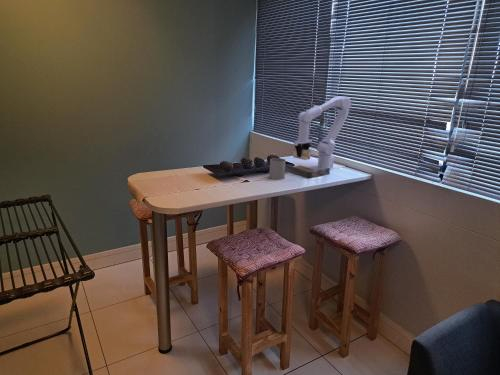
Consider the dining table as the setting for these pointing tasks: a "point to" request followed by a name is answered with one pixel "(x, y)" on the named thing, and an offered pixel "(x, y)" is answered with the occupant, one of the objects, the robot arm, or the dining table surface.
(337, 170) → the dining table surface
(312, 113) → the robot arm
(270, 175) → the cup
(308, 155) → the block
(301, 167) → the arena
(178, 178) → the dining table surface
